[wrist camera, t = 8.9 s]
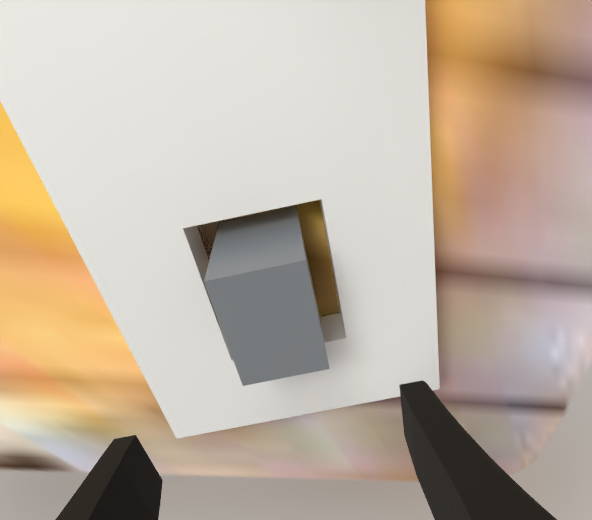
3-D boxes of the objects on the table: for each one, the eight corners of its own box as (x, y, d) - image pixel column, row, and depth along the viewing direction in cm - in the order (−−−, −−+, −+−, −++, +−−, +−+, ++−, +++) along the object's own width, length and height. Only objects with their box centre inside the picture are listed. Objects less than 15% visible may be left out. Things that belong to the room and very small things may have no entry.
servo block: (316, 297, 20) (329, 369, 16) (247, 311, 21) (242, 386, 16) (296, 205, 18) (305, 260, 14) (218, 221, 18) (203, 281, 14)
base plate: (426, 361, 23) (439, 388, 21) (183, 408, 23) (176, 438, 22) (400, -95, 13) (420, -115, 11) (-13, 4, 14) (-53, -1, 12)
